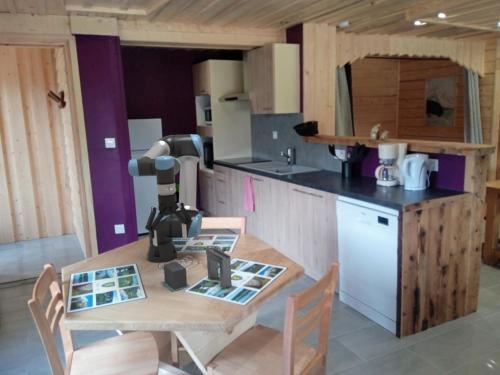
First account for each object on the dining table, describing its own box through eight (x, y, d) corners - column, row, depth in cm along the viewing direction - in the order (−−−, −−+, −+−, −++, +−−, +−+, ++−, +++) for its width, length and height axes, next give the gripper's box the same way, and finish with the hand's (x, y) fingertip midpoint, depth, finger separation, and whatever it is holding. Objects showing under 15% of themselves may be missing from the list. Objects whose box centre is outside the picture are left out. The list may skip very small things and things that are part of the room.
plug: (174, 289, 172) (172, 271, 171) (163, 280, 182) (162, 263, 180) (187, 286, 176) (185, 268, 174) (176, 277, 185) (174, 260, 183)
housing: (208, 278, 184) (206, 249, 181) (215, 275, 186) (214, 247, 184) (223, 288, 173) (222, 258, 170) (231, 285, 175) (230, 256, 173)
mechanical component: (225, 268, 194) (224, 248, 193) (204, 267, 197) (203, 247, 195) (227, 266, 197) (226, 246, 195) (206, 265, 199) (205, 245, 198)
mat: (161, 283, 180) (161, 282, 180) (178, 278, 185) (178, 277, 185) (172, 291, 171) (172, 290, 171) (189, 286, 176) (189, 285, 176)
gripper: (141, 199, 163) (145, 250, 167) (197, 190, 176) (200, 237, 181) (134, 196, 169) (139, 245, 173) (189, 188, 183) (192, 233, 187)
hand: (170, 241), depth 177 cm, fingers open, 13 cm apart
